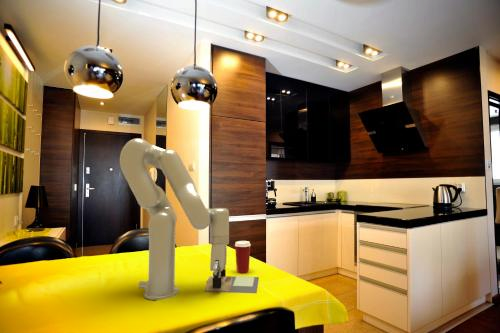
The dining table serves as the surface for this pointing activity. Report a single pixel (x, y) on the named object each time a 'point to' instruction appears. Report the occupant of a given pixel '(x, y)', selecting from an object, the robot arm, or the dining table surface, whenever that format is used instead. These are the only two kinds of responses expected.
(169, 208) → the robot arm
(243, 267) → the paper cup
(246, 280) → the mat
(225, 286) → the card box
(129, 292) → the dining table surface
